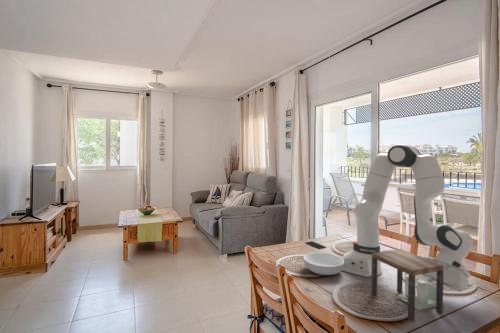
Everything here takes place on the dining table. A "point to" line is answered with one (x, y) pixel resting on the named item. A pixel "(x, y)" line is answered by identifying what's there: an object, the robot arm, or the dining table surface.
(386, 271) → the dining table surface
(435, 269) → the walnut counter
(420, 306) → the glasses tray
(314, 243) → the smartphone
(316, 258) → the serving bowl
